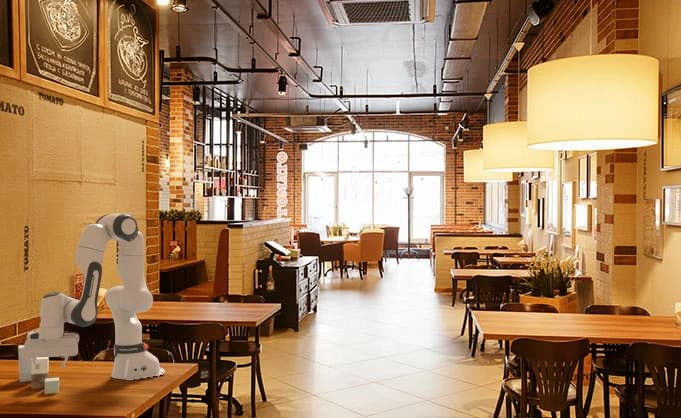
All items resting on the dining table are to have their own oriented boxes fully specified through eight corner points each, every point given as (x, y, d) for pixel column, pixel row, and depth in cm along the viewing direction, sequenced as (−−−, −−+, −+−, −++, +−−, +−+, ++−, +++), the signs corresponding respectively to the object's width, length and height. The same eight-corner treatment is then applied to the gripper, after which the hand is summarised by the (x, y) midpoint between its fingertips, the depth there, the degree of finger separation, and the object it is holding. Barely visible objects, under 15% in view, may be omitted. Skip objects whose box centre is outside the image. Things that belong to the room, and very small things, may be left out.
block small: (59, 389, 261) (59, 377, 261) (58, 393, 256) (58, 380, 256) (45, 390, 259) (45, 378, 259) (44, 394, 254) (44, 381, 254)
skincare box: (39, 377, 280) (39, 342, 280) (40, 380, 275) (40, 345, 275) (17, 379, 276) (18, 344, 276) (18, 382, 271) (18, 347, 271)
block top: (48, 369, 269) (48, 355, 269) (47, 373, 263) (47, 358, 263) (32, 370, 267) (32, 356, 267) (31, 374, 261) (31, 359, 261)
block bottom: (48, 384, 269) (48, 369, 269) (47, 387, 263) (47, 373, 263) (32, 385, 267) (32, 370, 267) (31, 389, 261) (31, 374, 261)
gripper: (79, 330, 264) (78, 364, 264) (24, 332, 257) (23, 367, 256) (79, 333, 258) (78, 368, 258) (22, 335, 251) (21, 371, 250)
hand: (50, 368), depth 257 cm, fingers open, 8 cm apart
